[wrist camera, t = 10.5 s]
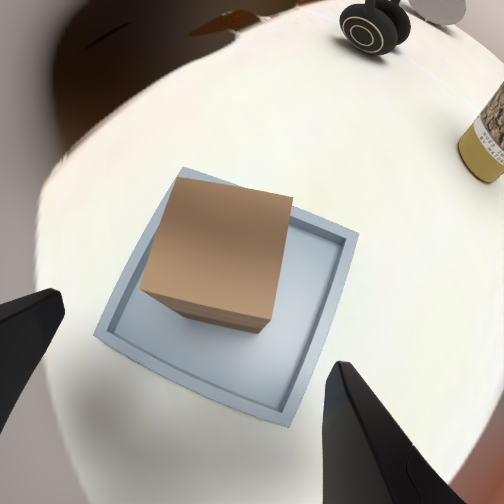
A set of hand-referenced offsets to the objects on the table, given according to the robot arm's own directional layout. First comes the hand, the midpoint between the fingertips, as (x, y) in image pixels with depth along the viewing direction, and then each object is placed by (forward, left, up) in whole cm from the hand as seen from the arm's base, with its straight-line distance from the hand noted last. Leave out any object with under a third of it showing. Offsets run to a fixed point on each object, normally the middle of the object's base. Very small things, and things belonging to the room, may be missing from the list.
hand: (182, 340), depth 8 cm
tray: (+4, +1, -11) cm, 12 cm away
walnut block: (+4, +1, -11) cm, 12 cm away
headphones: (+45, -3, -12) cm, 46 cm away
